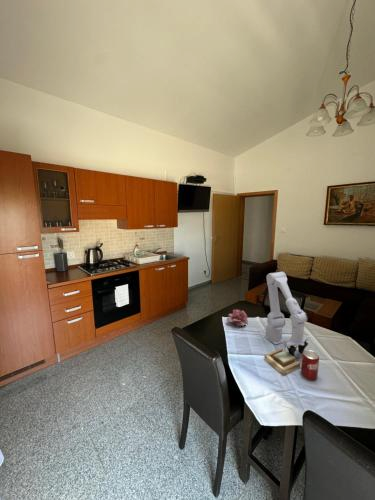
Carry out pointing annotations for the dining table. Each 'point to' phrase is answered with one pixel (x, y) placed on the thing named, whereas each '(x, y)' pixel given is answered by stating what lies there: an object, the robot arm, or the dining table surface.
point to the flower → (238, 318)
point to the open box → (284, 358)
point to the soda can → (310, 365)
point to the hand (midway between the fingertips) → (296, 355)
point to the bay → (277, 366)
